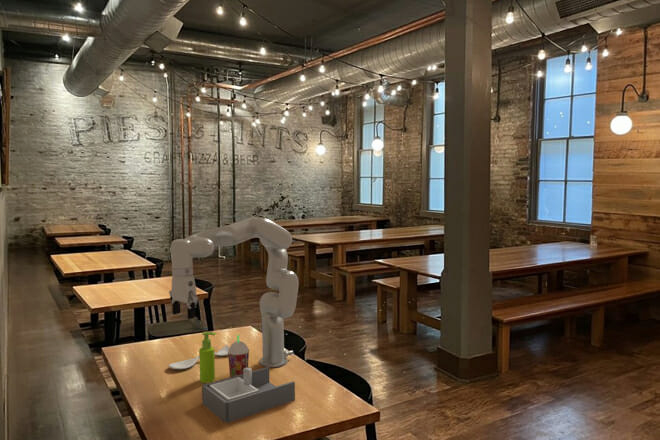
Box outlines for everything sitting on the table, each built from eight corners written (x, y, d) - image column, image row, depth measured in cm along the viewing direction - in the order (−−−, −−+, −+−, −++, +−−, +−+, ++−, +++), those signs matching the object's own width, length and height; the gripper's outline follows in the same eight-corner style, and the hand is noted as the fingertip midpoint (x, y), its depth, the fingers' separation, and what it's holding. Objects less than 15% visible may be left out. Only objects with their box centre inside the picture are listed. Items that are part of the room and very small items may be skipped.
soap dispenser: (213, 383, 202) (212, 335, 200) (197, 382, 204) (196, 334, 202) (219, 377, 208) (218, 330, 206) (204, 376, 209) (202, 329, 207)
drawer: (241, 391, 192) (241, 362, 191) (262, 404, 180) (261, 374, 179) (209, 400, 184) (209, 370, 183) (228, 415, 172) (228, 383, 171)
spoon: (238, 355, 235) (238, 348, 234) (175, 374, 212) (175, 366, 212) (227, 350, 241) (227, 343, 241) (165, 369, 218) (164, 361, 218)
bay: (268, 383, 202) (267, 366, 201) (294, 400, 187) (294, 382, 186) (202, 403, 184) (201, 385, 184) (226, 423, 170) (225, 403, 169)
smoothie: (253, 381, 205) (252, 333, 203) (243, 389, 197) (242, 339, 195) (235, 378, 207) (234, 331, 206) (224, 386, 199) (223, 337, 198)
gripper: (204, 273, 188) (206, 317, 190) (177, 267, 199) (179, 310, 201) (187, 276, 183) (189, 322, 184) (160, 270, 194) (162, 314, 195)
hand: (184, 316), depth 192 cm, fingers open, 9 cm apart
